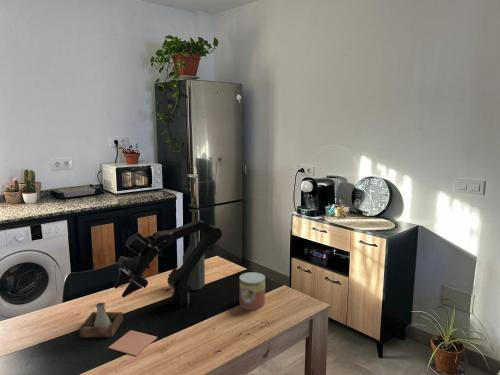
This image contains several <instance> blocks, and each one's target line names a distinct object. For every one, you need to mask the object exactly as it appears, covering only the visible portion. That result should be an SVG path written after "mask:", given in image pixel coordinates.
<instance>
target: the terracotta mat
mask: <svg viewBox="0 0 500 375" xmlns="http://www.w3.org/2000/svg"><path fill="white" fill-rule="evenodd" d="M157 339H158V336H155V335H151V334H148V333H143V332H139V331H136V330H132V329H131V330H129V331H128V332H126V333H125V334H124V335H122V336H121V337H120V338H119V339H117V340H116V341H115V342H113V343H112V344H111V345H109V346H108V347H107V348H108V349H109V350H112V351H117V352H120V353H124V354H127V355H131V356H134V357H137V356H138V355H140V354H141V353H142V352H143V351H144V350H145V349H146V348H147V347H149V346H150V345H151V344H152V343H153V342H154V341H156V340H157Z"/></svg>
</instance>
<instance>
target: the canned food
mask: <svg viewBox="0 0 500 375" xmlns="http://www.w3.org/2000/svg"><path fill="white" fill-rule="evenodd" d="M238 278H239V305H240V307H242V308H243V309H248V310H258V309H261V308H263V307H264V306H265V304H266V276H265V275H264V274H263V273H260V272H253V271H251V272H250V271H249V272H244V273H241V275H239V277H238Z"/></svg>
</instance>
